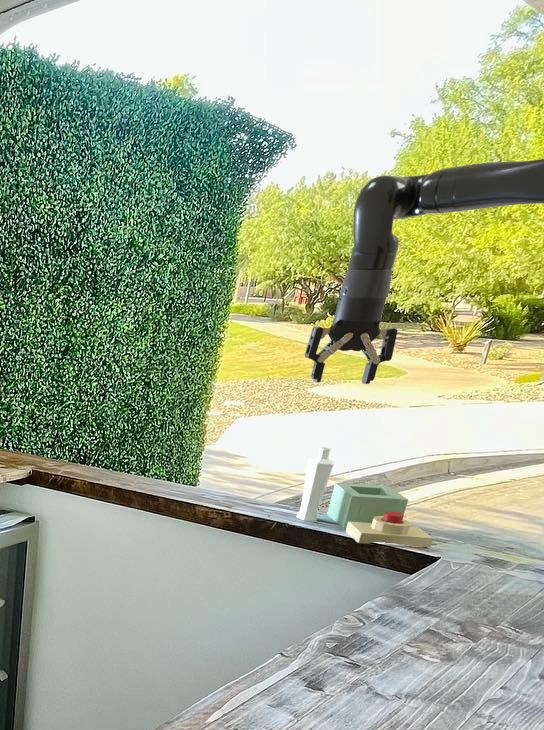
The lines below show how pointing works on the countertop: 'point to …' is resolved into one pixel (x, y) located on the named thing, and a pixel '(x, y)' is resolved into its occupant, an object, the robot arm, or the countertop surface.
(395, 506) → the bottle holder
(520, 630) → the countertop surface
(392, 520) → the release button
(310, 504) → the perfume bottle
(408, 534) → the control box
